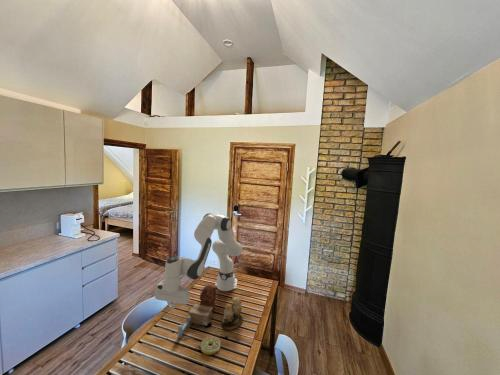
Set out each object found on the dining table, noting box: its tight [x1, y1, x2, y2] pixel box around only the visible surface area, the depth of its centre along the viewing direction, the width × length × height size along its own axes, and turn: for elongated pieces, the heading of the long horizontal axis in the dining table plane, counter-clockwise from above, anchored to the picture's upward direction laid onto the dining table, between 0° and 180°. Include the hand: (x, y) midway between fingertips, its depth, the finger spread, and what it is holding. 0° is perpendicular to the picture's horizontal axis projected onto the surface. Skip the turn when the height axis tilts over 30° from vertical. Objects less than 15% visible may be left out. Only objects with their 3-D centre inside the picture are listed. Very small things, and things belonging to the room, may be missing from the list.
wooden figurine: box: [199, 284, 217, 312], centre depth 153 cm, size 12×6×18 cm, turn 147°
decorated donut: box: [199, 336, 221, 356], centre depth 122 cm, size 10×11×4 cm
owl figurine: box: [220, 296, 244, 333], centre depth 143 cm, size 18×12×17 cm, turn 150°
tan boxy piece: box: [185, 303, 214, 329], centre depth 142 cm, size 14×13×7 cm
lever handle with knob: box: [177, 315, 191, 340], centre depth 133 cm, size 12×3×7 cm, turn 168°
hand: (171, 308), depth 128 cm, fingers closed
